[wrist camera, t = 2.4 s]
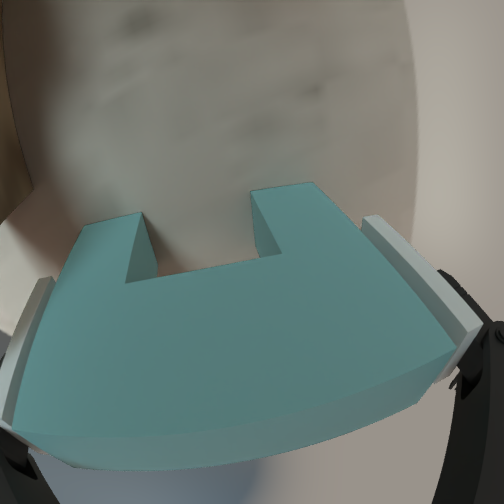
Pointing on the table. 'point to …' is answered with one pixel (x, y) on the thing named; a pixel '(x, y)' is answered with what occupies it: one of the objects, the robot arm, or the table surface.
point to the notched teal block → (224, 345)
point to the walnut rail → (10, 150)
